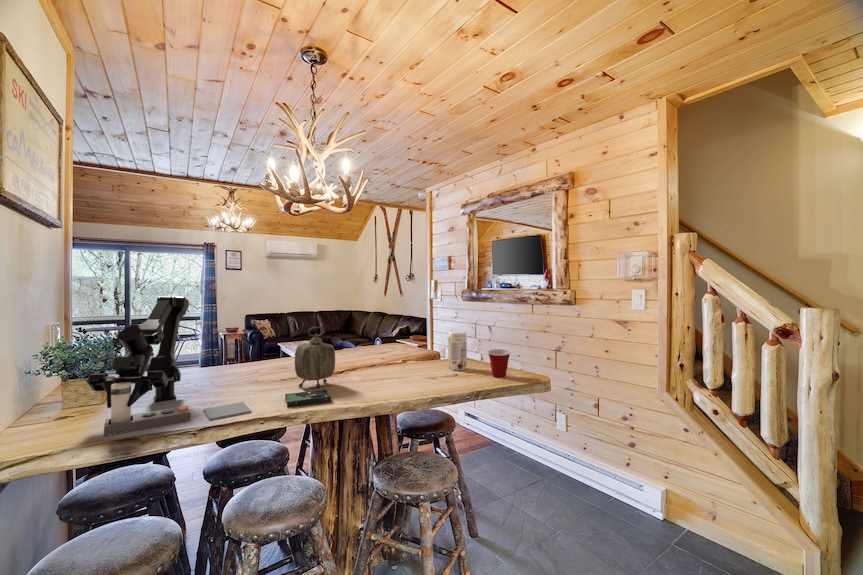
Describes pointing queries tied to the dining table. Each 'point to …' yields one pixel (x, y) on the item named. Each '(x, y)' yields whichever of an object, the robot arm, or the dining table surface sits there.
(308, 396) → the disk drive
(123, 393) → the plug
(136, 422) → the power strip
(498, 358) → the plastic cup
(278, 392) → the dining table surface
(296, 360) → the tabletop clock
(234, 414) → the mat
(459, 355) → the juice carton
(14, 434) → the dining table surface
